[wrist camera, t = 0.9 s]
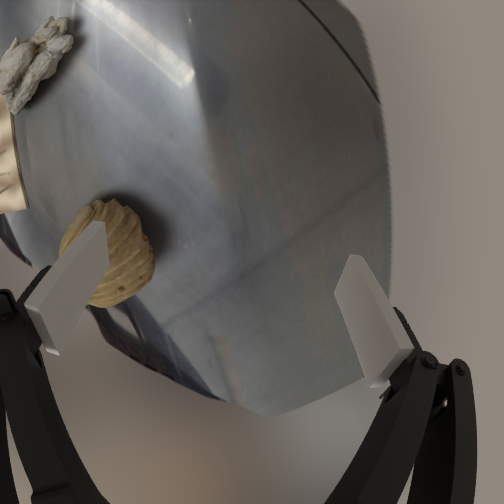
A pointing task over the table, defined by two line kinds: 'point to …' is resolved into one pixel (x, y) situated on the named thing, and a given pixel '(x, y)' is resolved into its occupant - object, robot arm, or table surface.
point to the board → (9, 165)
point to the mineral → (32, 62)
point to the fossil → (116, 251)
